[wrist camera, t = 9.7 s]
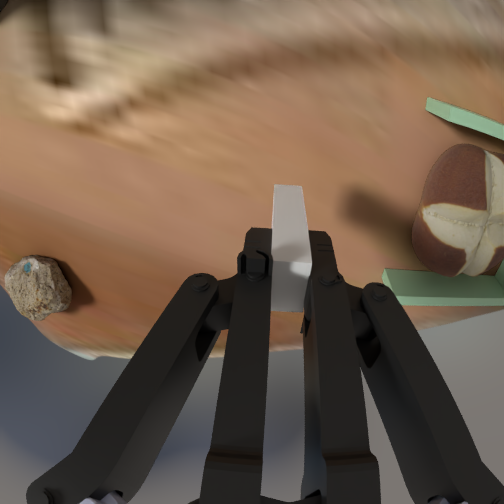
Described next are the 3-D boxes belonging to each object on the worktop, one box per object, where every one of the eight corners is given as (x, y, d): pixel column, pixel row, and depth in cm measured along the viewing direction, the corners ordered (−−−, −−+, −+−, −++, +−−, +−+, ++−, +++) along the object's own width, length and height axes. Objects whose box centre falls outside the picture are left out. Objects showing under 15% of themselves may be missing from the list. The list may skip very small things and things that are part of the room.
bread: (392, 252, 24) (409, 292, 20) (432, 125, 18) (466, 145, 14) (482, 265, 24) (503, 299, 20) (525, 163, 17) (558, 188, 13)
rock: (86, 293, 31) (69, 320, 28) (41, 306, 35) (26, 329, 31) (47, 241, 28) (25, 266, 24) (8, 265, 31) (-10, 286, 27)
